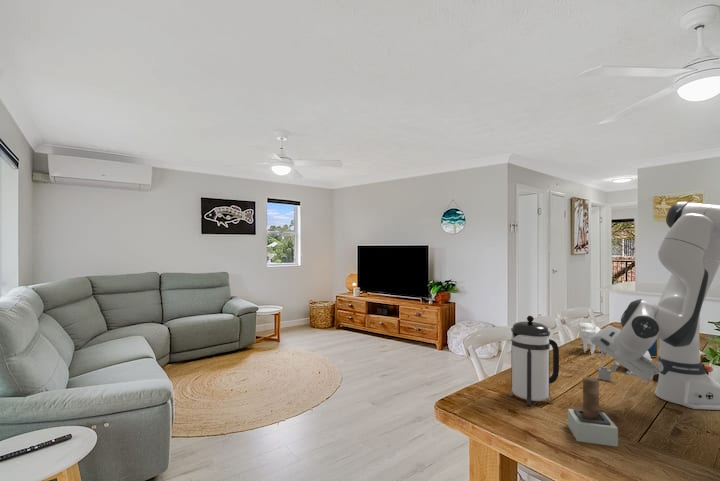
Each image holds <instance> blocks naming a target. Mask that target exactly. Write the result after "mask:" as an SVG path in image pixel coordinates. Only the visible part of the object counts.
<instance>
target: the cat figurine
mask: <svg viewBox="0 0 720 481" xmlns="http://www.w3.org/2000/svg"><path fill="white" fill-rule="evenodd" d="M578 325H579V329H578V333H579V337H580V339H581V341H582V345H583V346H582V348H583V350H585V351H588V347H589V346H588V345H590V351H589V353H590V352H591V353H593V354H594V353H595V351H596V347H597V346H596V345H594V344H593V343H592V342H591V339H592V338H593V337H594V336H595V335H596V334H597V333H598V332H599V331H600V330H601V327H599V326H597V324H596V323H591V322H582V321H580V322H579V324H578Z"/></svg>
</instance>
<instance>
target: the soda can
mask: <svg viewBox="0 0 720 481" xmlns="http://www.w3.org/2000/svg"><path fill="white" fill-rule="evenodd" d="M647 351H648V352H649V354H650V356H656V357H657V356H658V338H657V339H656V341H655V343H654V344H653V345H652V346H651V348H649V349H648V350H647Z"/></svg>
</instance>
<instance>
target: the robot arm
mask: <svg viewBox="0 0 720 481" xmlns="http://www.w3.org/2000/svg"><path fill="white" fill-rule="evenodd" d="M665 222H666V225H667V226H668V228H670V229H669V230H668V231H667V233H666V234H665V237H663V240H662V242H661V243H660V244H661V245H660V247H659V249H658V252H657V256H658V259H659V262H660V263H661V265H662V266H663V267H664V268H665V269H666V270H667V271H668V272H670V273H671V274H670V276H669V279H668V281H667V283H666V285H665V287H664V290H663V292H662V294H661V296H660V298H659V301H658V303H657V304H655V303H653V302H651V301H648V300H645V299H643V298H642V299H641V298H640V299H636V300H633V301H631V302H630V303H629V304H628V306H627V307H626V309H625V310H624V311H623V313H622V315H621V317H620V323H621V324H620V325H621V327H622V328H621V329H620V328H617V327H615V326H613V325H610V324H609V325H606V326H605V327H604V328H602V329H601V328H600V329H601V330H600V331H599V332H598V333H597V334H596V335H595V336H594V337H593V338H592V339H591V342H592V343H593V344H594V345H596V346H595V347H597V348H598V349H599V355H602V357H605V356H606V355H608V356H609V357H611V358H612V359H614V360H615V361H616V362H617V363H619V364H622V365H624V366H625V367H626V368H628V369H629V370H628V369H627V371H626V372H625V373H626V374H628V375H629V376H631V375H634V376H635V375H636V376H637V377H639V378H641V379H642V380H643V381H646V382H649V381H651V379H652V378H653V377H654V376H655V375H658V380H657V384H656V388H655V390H654V395H655V396H656V397H658V398H660V399H661V400H664V401H667V402H670V403H673V404H677V405H681V406H684V407H687V408H690V409H694V410H709V411H710V410H711V411H713V410H715V411H720V382H718V381H717V380H715V379H714V378H713V377H711V376H710V375H709V374H707V373H712V372H714V367H713V366H711V365H708V364H704V363H703V362H700V357H701V356H700V332H701V331H700V327H701V326H700V324H701V323H700V321H701V319H700V318H701V317H700V314H701V311H702V307H703V304H704V301H705V300H706V297H707V294H708V292H709V290H710V287H711V285H712V283H713V281H714V280H715V279H714V278H715V277H716V274H717V273H718V269H719V268H720V205H718V204H707V203H699V202H698V203H697V202H696V203H695V202H691V201H678V202H676V203H674V204H673V205H671V206H670V207H669V209H668V210H667V214H666V218H665ZM656 339H657V340H658V339H659V356H658V360H657V361H658V363H657V365H656V363H654V362H653V361H650V360H648V359H647V358H645V357H644V356H643V355H644V354H645V353H646V352H647V350H648V349H649V348H651V346H652V345H653V344H654V343H655V341H656ZM600 351H601V353H600ZM624 366H623V367H624ZM625 367H624V368H625ZM626 368H625V369H626ZM706 371H707V372H706Z"/></svg>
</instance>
